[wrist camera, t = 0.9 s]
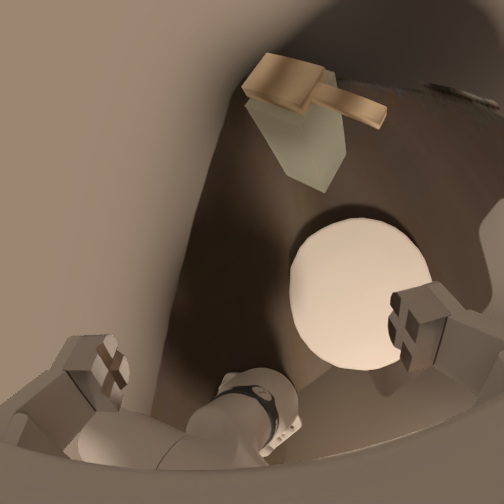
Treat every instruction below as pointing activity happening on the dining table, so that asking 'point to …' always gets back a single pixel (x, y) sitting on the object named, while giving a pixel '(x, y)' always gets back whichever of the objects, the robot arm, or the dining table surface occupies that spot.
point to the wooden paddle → (306, 90)
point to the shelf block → (303, 139)
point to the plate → (352, 290)
